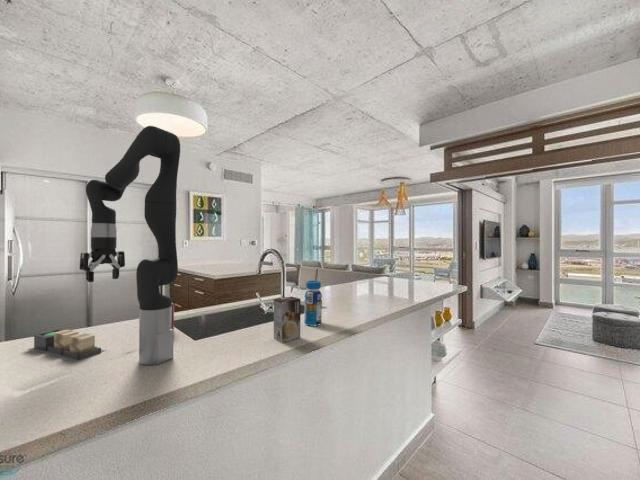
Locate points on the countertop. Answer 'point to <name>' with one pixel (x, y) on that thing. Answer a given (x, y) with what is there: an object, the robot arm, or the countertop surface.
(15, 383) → the countertop surface
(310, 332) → the countertop surface
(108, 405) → the countertop surface
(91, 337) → the loose billet
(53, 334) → the button
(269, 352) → the countertop surface
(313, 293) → the beverage bottle
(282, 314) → the coffee box
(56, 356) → the grey compartment tray
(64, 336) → the block
